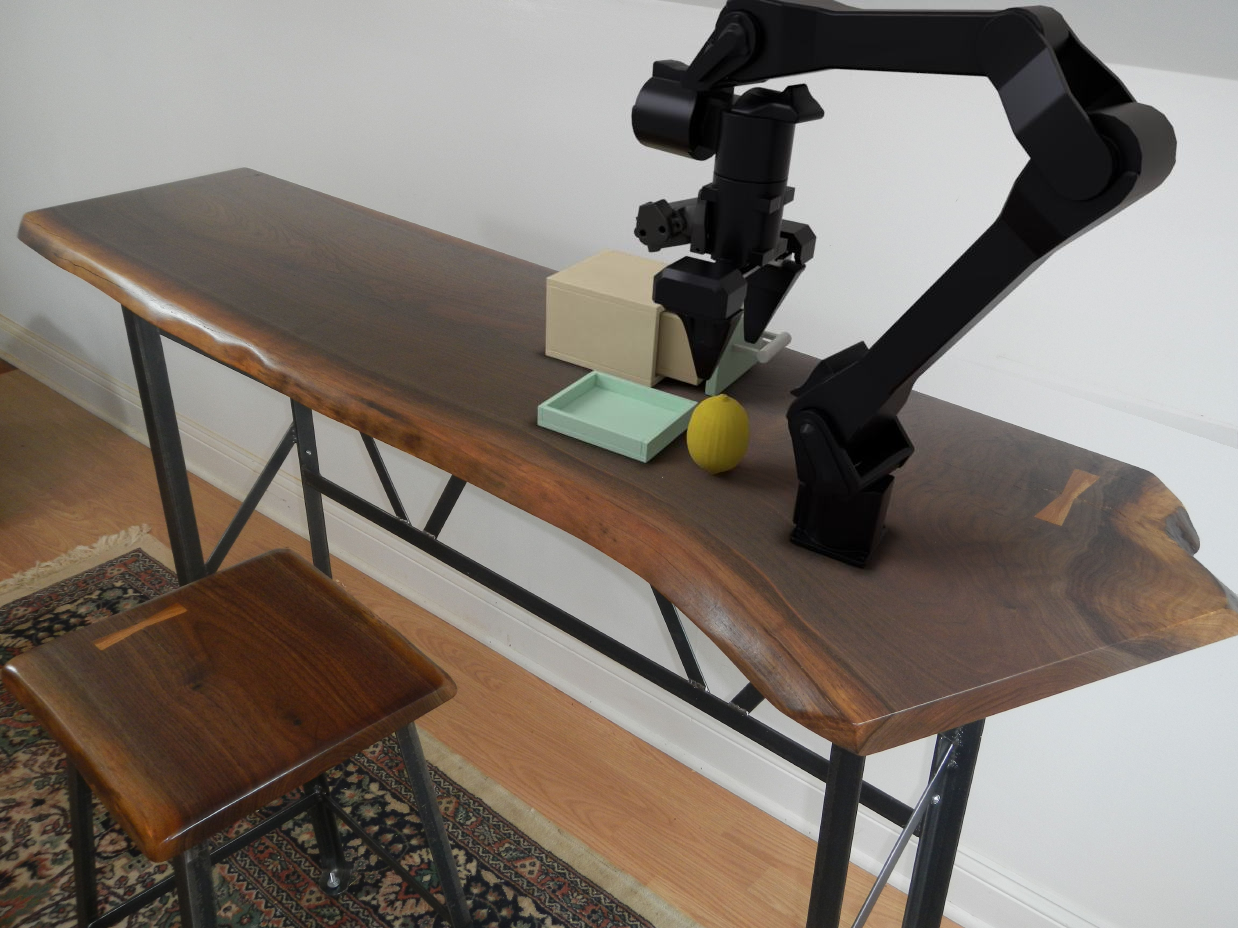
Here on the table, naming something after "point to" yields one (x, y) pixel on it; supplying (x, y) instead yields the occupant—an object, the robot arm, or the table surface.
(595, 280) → the cabinet
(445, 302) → the table surface
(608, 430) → the tray
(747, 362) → the drawer
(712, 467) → the lemon
